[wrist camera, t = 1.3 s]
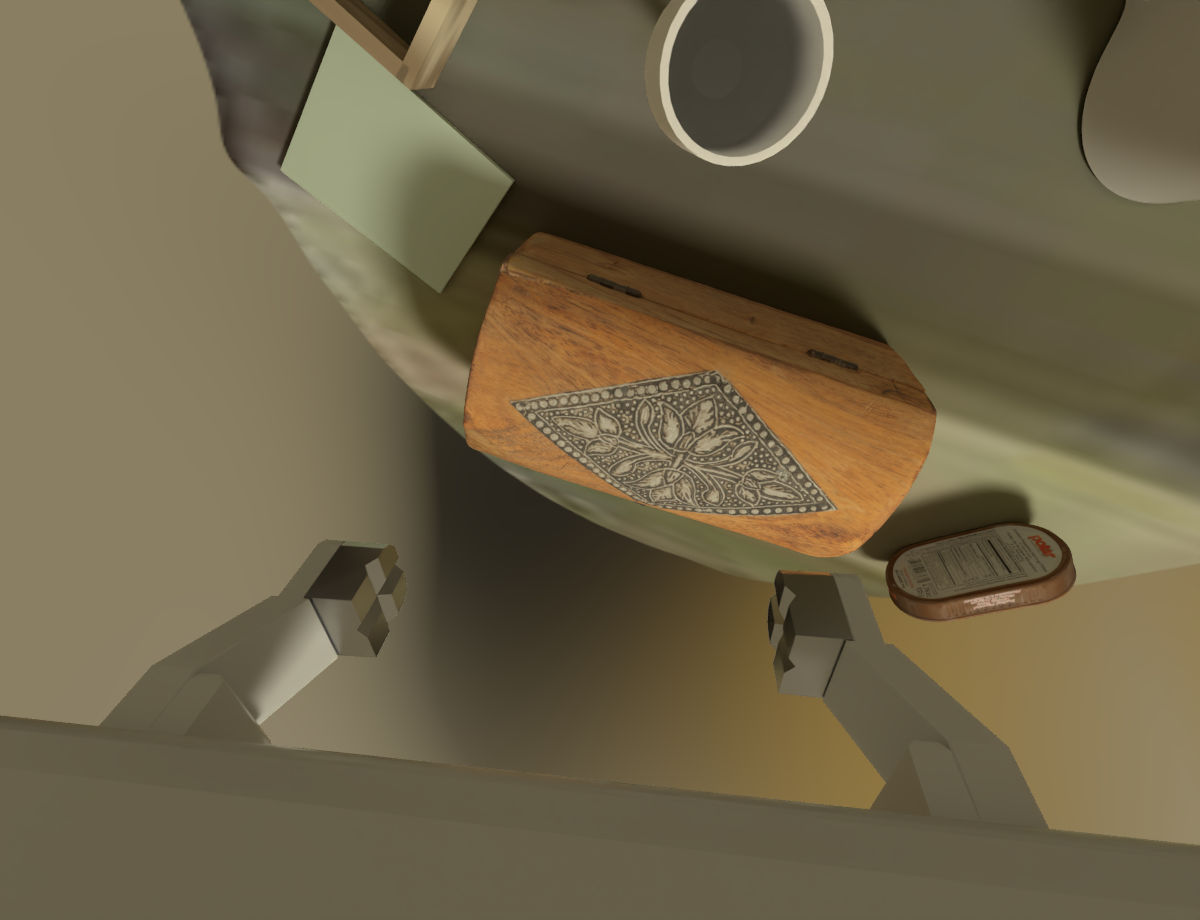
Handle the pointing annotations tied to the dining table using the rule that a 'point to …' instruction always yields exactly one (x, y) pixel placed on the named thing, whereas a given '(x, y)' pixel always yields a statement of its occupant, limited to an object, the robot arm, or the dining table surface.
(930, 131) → the dining table surface
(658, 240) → the dining table surface
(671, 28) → the champagne flute
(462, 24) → the birch u-shaped frame
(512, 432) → the wooden box
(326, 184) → the felt mat
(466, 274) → the dining table surface
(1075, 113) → the dining table surface
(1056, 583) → the tin
